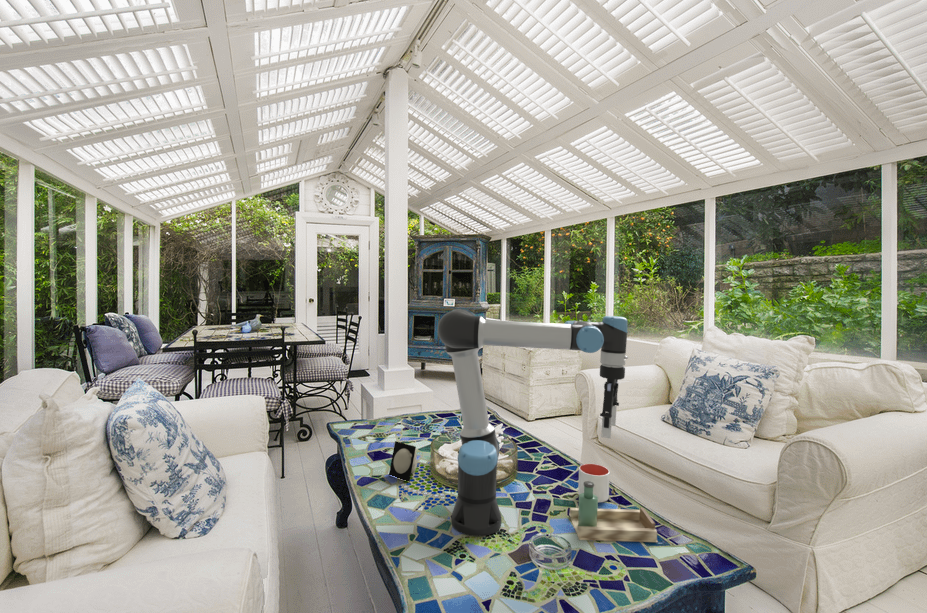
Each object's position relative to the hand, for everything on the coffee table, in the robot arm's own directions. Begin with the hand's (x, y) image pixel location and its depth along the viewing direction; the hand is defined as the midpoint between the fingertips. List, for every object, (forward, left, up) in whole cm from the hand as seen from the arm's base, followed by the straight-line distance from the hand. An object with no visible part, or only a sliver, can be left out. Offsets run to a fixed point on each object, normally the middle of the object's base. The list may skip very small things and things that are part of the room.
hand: (608, 431), depth 143 cm
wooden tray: (-2, -11, -26) cm, 29 cm away
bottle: (-9, -11, -25) cm, 29 cm away
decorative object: (-68, +22, -26) cm, 76 cm away
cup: (-2, +9, -26) cm, 28 cm away
